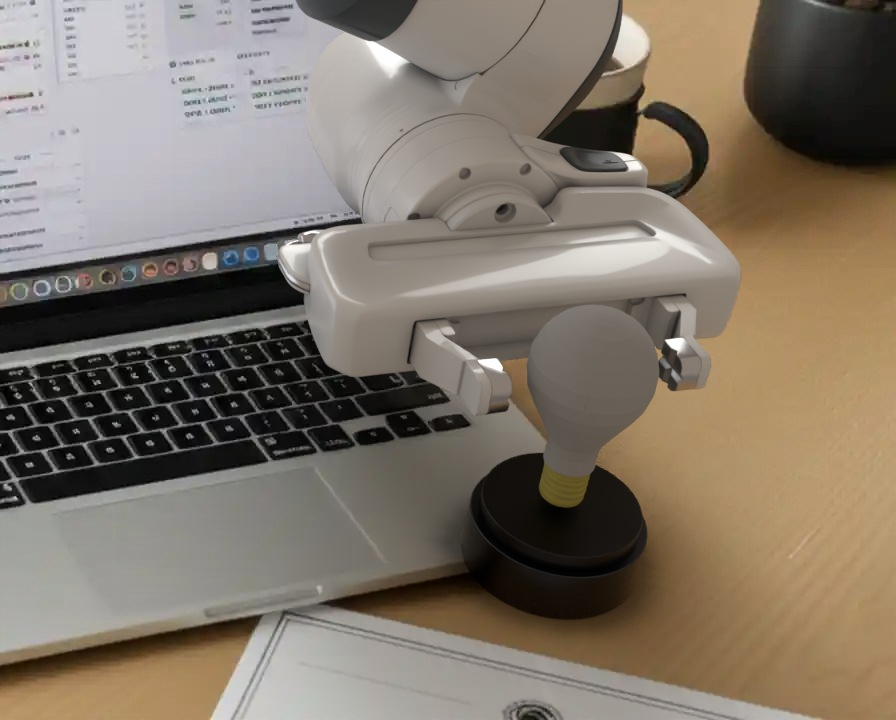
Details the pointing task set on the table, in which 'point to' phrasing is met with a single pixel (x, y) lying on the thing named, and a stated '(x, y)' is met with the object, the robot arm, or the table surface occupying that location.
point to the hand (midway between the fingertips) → (596, 389)
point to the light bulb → (587, 391)
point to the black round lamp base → (553, 542)
